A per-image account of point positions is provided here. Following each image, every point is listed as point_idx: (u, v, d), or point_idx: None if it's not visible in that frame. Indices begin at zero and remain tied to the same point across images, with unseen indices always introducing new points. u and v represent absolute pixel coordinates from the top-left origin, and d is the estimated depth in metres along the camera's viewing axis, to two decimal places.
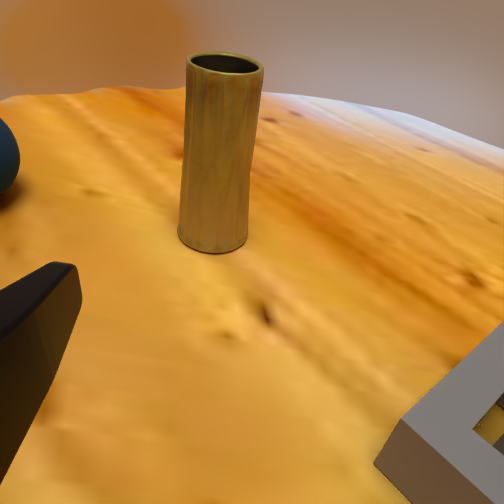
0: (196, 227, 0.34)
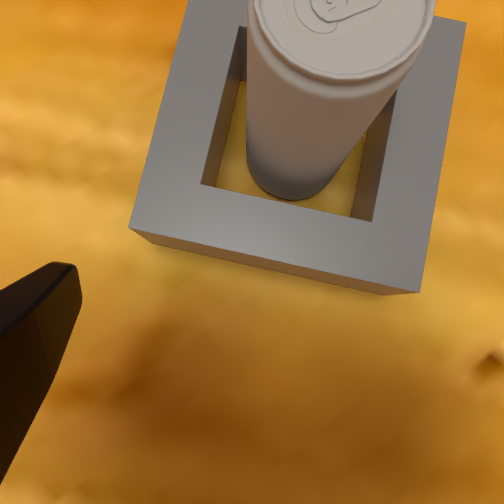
0: None
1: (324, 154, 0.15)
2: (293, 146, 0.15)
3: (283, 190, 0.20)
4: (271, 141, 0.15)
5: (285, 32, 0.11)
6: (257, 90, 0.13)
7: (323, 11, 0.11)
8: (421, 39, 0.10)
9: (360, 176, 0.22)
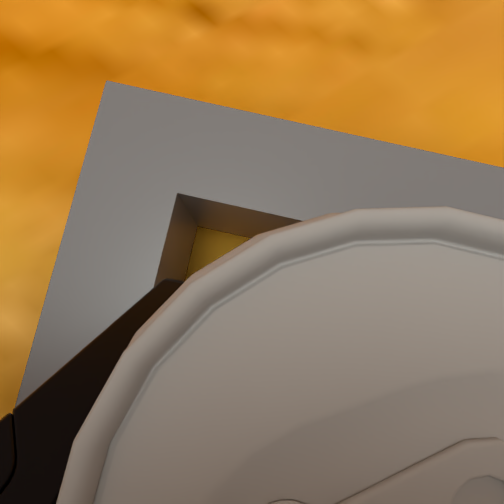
0: None
1: None
2: None
3: None
4: None
5: None
6: None
7: None
8: None
9: None
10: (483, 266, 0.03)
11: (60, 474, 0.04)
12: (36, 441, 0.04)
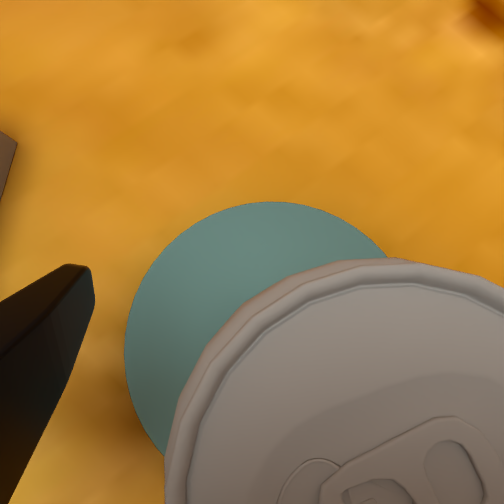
0: None
1: None
2: None
3: None
4: None
5: None
6: None
7: None
8: None
9: None
10: (446, 301, 0.04)
11: None
12: None
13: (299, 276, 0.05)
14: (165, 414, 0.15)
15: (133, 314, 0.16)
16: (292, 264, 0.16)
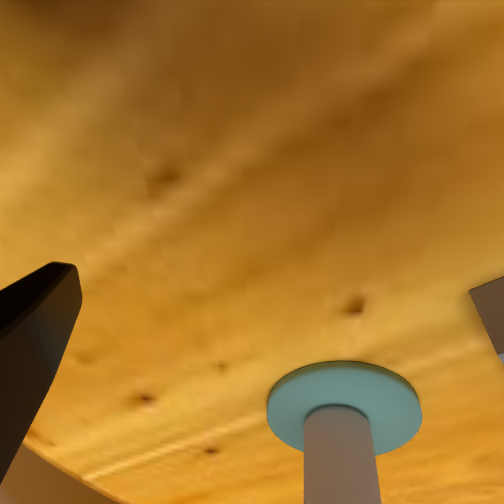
0: None
1: None
2: None
3: (320, 431, 0.29)
4: None
5: None
6: None
7: None
8: None
9: None
10: None
11: None
12: None
13: None
14: (361, 383, 0.28)
15: (412, 399, 0.29)
16: None
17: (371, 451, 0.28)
